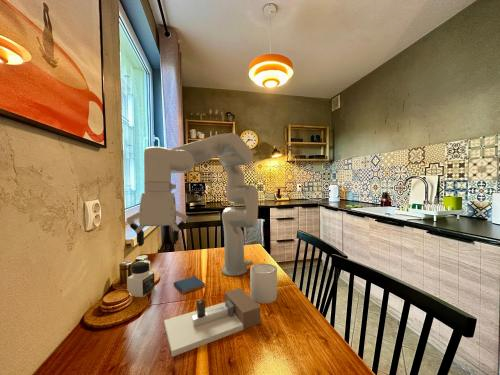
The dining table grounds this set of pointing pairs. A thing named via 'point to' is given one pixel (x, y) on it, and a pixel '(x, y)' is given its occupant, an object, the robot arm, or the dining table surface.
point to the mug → (263, 283)
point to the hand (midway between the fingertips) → (158, 244)
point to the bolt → (208, 313)
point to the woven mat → (188, 284)
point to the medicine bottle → (140, 280)
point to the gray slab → (212, 323)
